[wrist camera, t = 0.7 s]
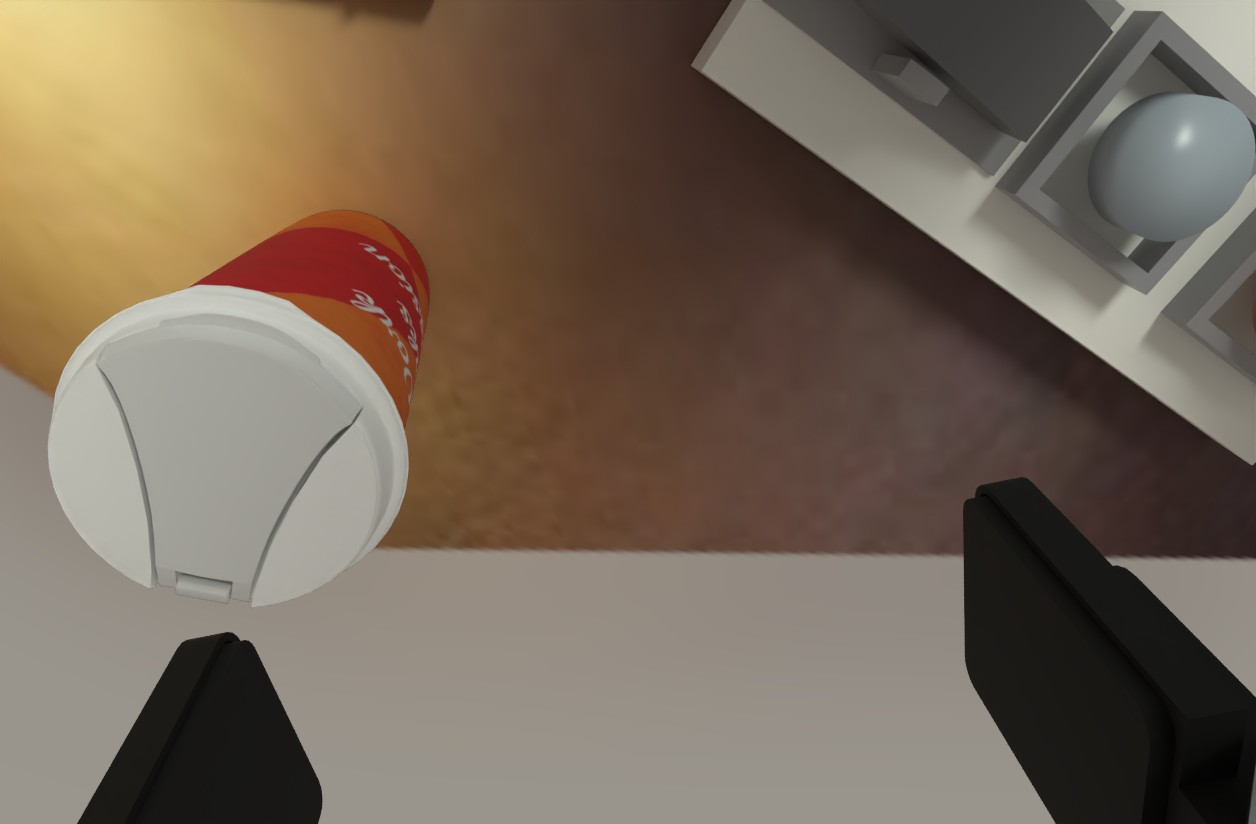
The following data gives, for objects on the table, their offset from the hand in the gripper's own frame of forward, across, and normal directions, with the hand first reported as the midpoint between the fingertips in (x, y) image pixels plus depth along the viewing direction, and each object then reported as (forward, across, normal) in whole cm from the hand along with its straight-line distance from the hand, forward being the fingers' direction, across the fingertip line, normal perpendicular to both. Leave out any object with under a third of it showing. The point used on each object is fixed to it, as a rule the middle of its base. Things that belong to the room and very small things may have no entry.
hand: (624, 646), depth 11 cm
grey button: (+20, -20, +1) cm, 28 cm away
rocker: (+19, -13, -5) cm, 24 cm away
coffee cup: (+24, +9, +1) cm, 26 cm away
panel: (+24, -20, +1) cm, 31 cm away
